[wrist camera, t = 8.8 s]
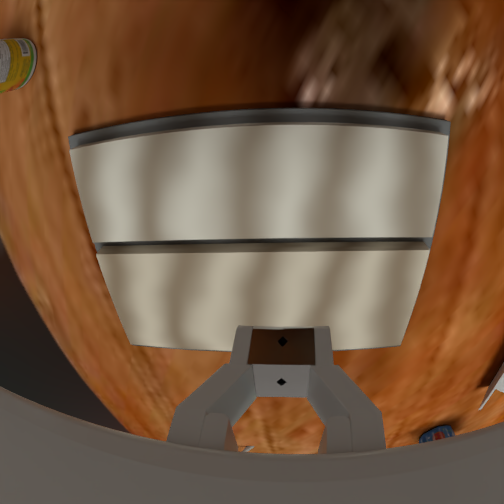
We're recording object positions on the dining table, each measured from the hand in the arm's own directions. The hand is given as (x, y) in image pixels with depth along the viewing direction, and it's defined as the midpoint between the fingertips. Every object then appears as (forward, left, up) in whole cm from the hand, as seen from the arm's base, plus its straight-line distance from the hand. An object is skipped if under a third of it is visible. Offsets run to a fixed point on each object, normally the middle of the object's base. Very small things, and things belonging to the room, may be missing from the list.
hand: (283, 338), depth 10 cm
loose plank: (+2, +11, -16) cm, 20 cm away
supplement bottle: (+24, -15, -17) cm, 33 cm away
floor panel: (+2, +7, -17) cm, 18 cm away
